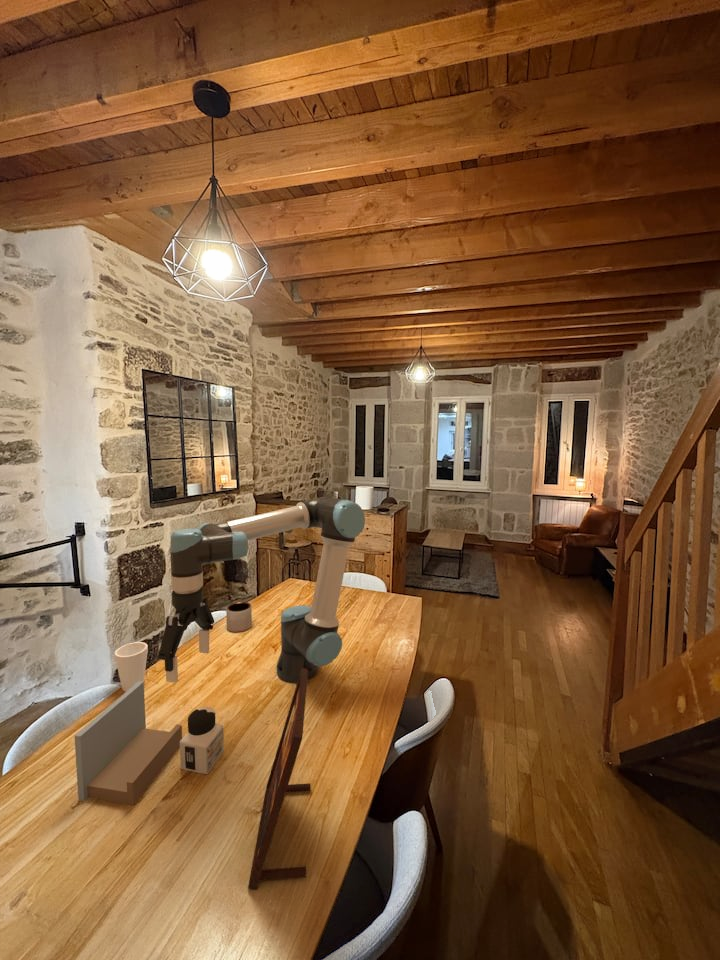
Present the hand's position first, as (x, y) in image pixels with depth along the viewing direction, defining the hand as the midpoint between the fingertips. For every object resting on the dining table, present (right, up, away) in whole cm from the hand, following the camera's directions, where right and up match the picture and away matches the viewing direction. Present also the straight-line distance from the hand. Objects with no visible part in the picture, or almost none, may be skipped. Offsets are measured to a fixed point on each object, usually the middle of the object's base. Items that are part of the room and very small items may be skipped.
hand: (189, 665), depth 101 cm
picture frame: (+29, -25, -20) cm, 44 cm away
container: (+5, -23, -3) cm, 24 cm away
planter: (-9, -17, +69) cm, 71 cm away
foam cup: (-31, -20, +27) cm, 46 cm away
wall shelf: (-11, -23, -5) cm, 26 cm away
